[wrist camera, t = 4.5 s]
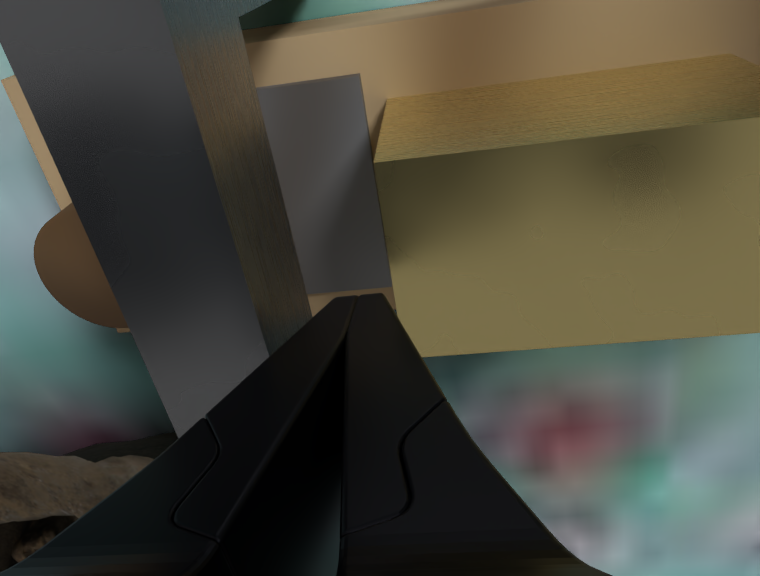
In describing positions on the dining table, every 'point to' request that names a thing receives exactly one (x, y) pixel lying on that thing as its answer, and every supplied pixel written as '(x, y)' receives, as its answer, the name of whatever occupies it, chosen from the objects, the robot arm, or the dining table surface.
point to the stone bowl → (62, 489)
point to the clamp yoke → (167, 180)
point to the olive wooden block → (575, 208)
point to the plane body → (367, 105)
